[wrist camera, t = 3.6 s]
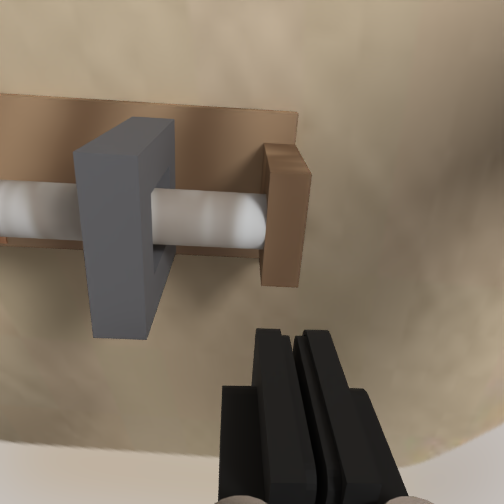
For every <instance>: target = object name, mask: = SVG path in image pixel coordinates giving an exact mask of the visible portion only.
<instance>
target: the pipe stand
mask: <svg viewBox="0 0 504 504" xmlns="http://www.w3.org/2000/svg"><path fill="white" fill-rule="evenodd" d="M132 116H133V117H150V118H166V119H175V189H164V188H154V190H153V191H152V193H151V209H152V236H153V244H160V245H176V253H175V254H183V255H204V256H224V257H245V258H259V262H260V275H261V286H276V287H298V284H299V275H300V267H301V259H302V251H303V243H304V234H305V226H306V218H307V210H308V202H309V193H310V185H311V177H312V174H311V172H310V170H309V169H308V167H307V165H306V163H305V161H304V160H303V158H302V156H301V154H300V152H299V151H298V149H297V147H296V145H295V142H296V132H297V122H298V113H297V112H289V111H273V110H257V109H241V108H225V107H210V106H194V105H178V104H162V103H146V102H130V101H114V100H98V99H82V98H66V97H50V96H34V95H18V94H2V93H0V246H17V247H37V248H58V249H79V250H84V249H83V240H82V231H81V222H80V213H79V204H78V195H77V186H76V177H75V168H74V159H73V151H75V150H77V149H79V148H80V147H82V146H84V145H85V144H87V143H89V142H90V141H92V140H94V139H95V138H97V137H99V136H100V135H102V134H104V133H105V132H107V131H109V130H110V129H112V128H114V127H116V126H117V125H119V124H121V123H122V122H124V121H126V120H127V119H129V118H131V117H132Z"/></svg>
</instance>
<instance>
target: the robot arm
mask: <svg viewBox="0 0 504 504" xmlns="http://www.w3.org/2000/svg"><path fill="white" fill-rule="evenodd" d="M218 492H219V493H218V502H217V503H215V504H433V503H431V502H429V501H428V500H424V499H420V498H417V497H413V496H408V493H407V491H406V488H405V486H404V483H403V481H402V478H401V476H400V473H399V471H398V468H397V466H396V463H395V461H394V458H393V456H392V453H391V451H390V448H389V446H388V443H387V441H386V438H385V436H384V433H383V431H382V428H381V426H380V423H379V421H378V418H377V416H376V413H375V411H374V408H373V406H372V403H371V401H370V398H369V396H368V394H367V392H366V391H365V390H364V389H360V388H349V387H348V384H347V381H346V378H345V375H344V372H343V370H342V367H341V364H340V361H339V358H338V355H337V352H336V350H335V347H334V344H333V341H332V338H331V335H330V333H329V331H328V330H304V332H303V336H295V339H294V346H293V352H292V347H291V342H290V337H289V336H288V335H281V331H280V329H263V328H257V329H256V335H255V348H254V361H253V374H252V386H222V407H221V431H220V462H219V491H218Z"/></svg>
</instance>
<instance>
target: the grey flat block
mask: <svg viewBox="0 0 504 504" xmlns="http://www.w3.org/2000/svg"><path fill="white" fill-rule="evenodd" d="M73 159H74V168H75V177H76V186H77V195H78V204H79V213H80V222H81V231H82V240H83V249H84V258H85V267H86V276H87V285H88V294H89V303H90V313H91V322H92V331H93V338H113V339H138V340H147V337H148V334H149V331H150V328H151V325H152V322H153V319H154V316H155V313H156V310H157V307H158V304H159V301H160V298H161V295H162V292H163V289H164V286H165V283H166V280H167V277H168V274H169V271H170V268H171V265H172V262H173V259H174V256H175V253H176V245H160V244H153V236H152V209H151V193H152V191H153V190H154V188H164V189H175V119H166V118H150V117H133V116H132V117H131V118H129V119H127V120H126V121H124V122H122V123H121V124H119V125H117V126H116V127H114V128H112V129H110V130H109V131H107V132H105V133H104V134H102V135H100V136H99V137H97V138H95V139H94V140H92V141H90V142H89V143H87V144H85V145H84V146H82V147H80V148H79V149H77V150H75V151H73Z"/></svg>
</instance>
